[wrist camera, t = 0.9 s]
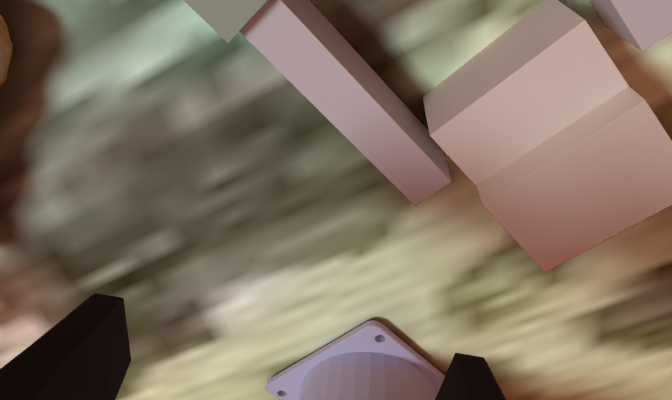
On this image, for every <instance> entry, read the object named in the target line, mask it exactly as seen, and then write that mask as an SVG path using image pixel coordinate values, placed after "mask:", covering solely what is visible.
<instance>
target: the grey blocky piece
mask: <svg viewBox="0 0 672 400" xmlns="http://www.w3.org/2000/svg"><path fill="white" fill-rule="evenodd" d="M184 1H185V2H186V3H187V4H188V5H189V6H190V7H191V8H192V9H193V10H194V11H195V12H196V13H197V14H198V15H199V16H200V17H202V18H203V19H204V20H205V21H206V22H207V23H208V24H209V25H210V26H211V27H212V28H213V29H214V30H215V31H216V32H217V33H218V34H219V35H220V36H221V37H222V38H223V39H224V40H225V41H226V42H227V43H229V41H230V40H231V39H232V38H233V37H234V36H235V35H236V34H237V33H238V32H239V31H240V32H241V33H242V34H243V35H244V36H245V37H246V38H247V39H248V40H249V41H250V42H251V43H252V44H253V45H254V46H255V47H256V48H257V49H258V50H259V51H260V52H261V53H262V54H263V55H264V56H265V57H266V58H267V59H268V60H269V61H270V62H271V63H272V64H273V65H274V66H275V67H276V68H277V69H278V70H279V71H280V72H281V73H282V74H283V75H284V76H285V77H286V78H287V79H288V80H289V81H290V82H291V83H292V84H293V85H294V86H295V87H296V88H297V89H298V90H299V91H300V92H301V93H302V94H303V95H304V96H305V97H306V98H307V99H308V100H309V101H310V102H311V103H312V104H313V105H314V106H315V107H316V108H317V109H318V110H319V111H320V112H321V113H322V114H323V115H324V116H325V117H326V118H327V119H328V120H329V121H330V122H331V123H332V124H333V125H334V126H335V127H336V128H337V129H338V130H339V131H340V132H341V133H342V134H343V135H344V136H345V137H346V138H347V139H348V140H349V141H350V142H351V143H352V144H353V145H354V146H355V147H356V148H357V149H358V150H359V151H360V152H361V153H362V154H363V155H364V156H365V157H366V158H367V159H368V160H369V161H370V162H371V163H372V164H373V165H374V166H375V167H376V168H377V169H378V170H379V171H380V172H381V173H383V174H384V175H385V176H386V177H387V178H388V179H389V180H390V181H391V182H392V183H393V184H394V185H395V186H396V187H397V188H398V189H399V190H400V191H401V192H402V193H403V194H404V195H405V196H406V197H407V198H408V199H409V200H410V201H411V202H412V203H413V204H414V205H415V206H417V205H418V204H420V203H421V202H423V201H424V200H426V199H427V198H429V197H430V196H431V195H433V194H434V193H436V192H437V191H439V190H440V189H442V188H443V187H445V186H446V185H448V184H449V183H451V178H450V174H449V169H448V165H447V161H446V156H445V152H444V151H443V149H442V148H441V147H440V146H439V145H438V144H437V143H436V142H435V141H434V140H433V138H432V137H431V136H430V134H429V131H428V130H427V129H426V127H425V126H424V125H423V124H422V123H421V122H420V121H419V120H418V119H417V118H416V116H415V115H414V114H413V113H412V112H411V111H410V110H409V109H408V108H407V107H406V105H405V104H404V103H403V102H402V101H401V100H400V99H399V98H398V97H397V96H396V95H395V93H394V92H393V91H392V90H391V89H390V88H389V87H388V86H387V85H386V84H385V82H384V81H383V80H382V79H381V78H380V77H379V76H378V75H377V74H376V73H375V71H374V70H373V69H372V68H371V67H370V66H369V65H368V64H367V63H366V62H365V60H364V59H363V58H362V57H361V56H360V55H359V54H358V53H357V52H356V51H355V50H354V48H353V47H352V46H351V45H350V44H349V43H348V42H347V41H346V40H345V39H344V37H343V36H342V35H341V34H340V33H339V32H338V31H337V30H336V29H335V28H334V26H333V25H332V24H331V23H330V22H329V21H328V20H327V19H326V18H325V17H324V16H323V14H322V13H321V12H320V11H319V10H318V9H317V8H316V7H315V6H314V5H313V3H312V2H311V1H310V0H184ZM590 1H591V3H592V4H593V6H594V8H595V9H596V11H597V12H598V14H599V15H600V17H601V18H602V20H603V21H604V23H605V25H606V26H607V28H609V29H610V30H612V31H613V32H615V33H616V34H618V35H619V36H621V37H622V38H623V39H625V40H626V41H628V42H629V43H631V44H632V45H634V46H635V47H637V48H638V49H640V50H641V51H644V50H646V49H647V48H648V47H650V46H651V45H653V44H654V43H656V42H657V41H659V40H660V39H662V38H663V37H665V36H666V35H668V34H669V33H670V32H672V0H590Z"/></svg>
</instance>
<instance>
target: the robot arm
mask: <svg viewBox="0 0 672 400" xmlns="http://www.w3.org/2000/svg"><path fill="white" fill-rule="evenodd" d="M377 335H382V336H377ZM130 361H131V356H130V348H129V340H128V332H127V324H126V316H125V308H124V300H123V298H120V297H114V296H108V295H102V294H96V293H95V294H93V295H92V296H90V297H89V298H88V299H86V300H85V301H84V302H83V303H82V304H80V305H79V306H78V307H77V308H75V309H74V310H73V311H72V312H71V313H69V314H68V315H67V316H66V317H65V318H63V319H62V320H61V321H60V322H59V323H57V324H56V325H55V326H54V327H53V328H51V329H50V330H49V331H48V332H46V333H45V334H44V335H43V336H42V337H40V338H39V339H38V340H37V341H35V342H34V343H33V344H32V345H30V346H29V347H28V348H27V349H25V350H24V351H23V352H22V353H20V354H19V355H18V356H16V357H15V358H14V359H13V360H11V361H10V362H9V363H7V364H6V365H5V366H4V367H2V368H1V369H0V400H115V398H116V396H117V394H118V391H119V389H120V387H121V384H122V382H123V379H124V377H125V374H126V371H127V369H128V366H129V364H130ZM266 389H267V390H268V391H269V392H270V393H271V394H273V395H274V396H276V397H277V398H279V399H280V400H506V399H505V397H504V395H503V393H502V391H501V389H500V387H499V385H498V384H497V382H496V380H495V378H494V376H493V374H492V372H491V370H490V368H489V366H488V364H487V362H486V361H485V359H484V358H483V357H477V356H471V355H465V354H459V353H455V355H454V357H453V360H452V362H451V364H450V366H449V369H448V371H447V373H446V375H443V374H442V373H441V372H440V371H439V370H437V369H436V368H435V367H434V366H432V365H431V364H430V363H429V362H428V361H426V360H425V359H424V358H423V357H422V356H420V355H419V354H418V353H417V352H416V351H414V350H413V349H412V348H411V347H409V346H408V345H407V344H406V343H405V342H403V341H402V340H401V339H400V338H399V337H397V336H396V335H395V334H394V333H393V332H391V331H390V330H389V329H388V328H386V327H385V326H384V325H383V324H382V323H380V322H378V321H375V320H372V321H368V322H365V323H364V324H362V325H360V326H359V327H357V328H355V329H354V330H352V331H350V332H348V333H347V334H345V335H343V336H342V337H340V338H338V339H336V340H335V341H333V342H331V343H330V344H328V345H326V346H325V347H323V348H321V349H319V350H318V351H316V352H314V353H313V354H311V355H309V356H307V357H306V358H304V359H302V360H301V361H299V362H297V363H295V364H294V365H292V366H290V367H289V368H287V369H285V370H284V371H282V372H280V373H278V374H277V375H275V376H273V377H272V378H270V379H269V380H268V381H267V385H266Z"/></svg>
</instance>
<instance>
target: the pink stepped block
mask: <svg viewBox="0 0 672 400" xmlns="http://www.w3.org/2000/svg"><path fill="white" fill-rule="evenodd" d="M423 103H424V108H425V113H426V118H427V124H428V129H429V134H430V136H431V137H432V138H433V140H434V141H435V142H436V143H437V144H438V145H439V146H440V147H441V148H442V149H443V151H444V152H445V153H446V154H447V155H448V156H449V157H450V158H451V159H452V160H453V162H454V163H455V164H456V165H457V166H458V167H459V168H460V169H461V170H462V171H463V172H464V174H465V175H466V176H467V177H468V178H469V179H470V180H471V181H472V182H473V183H474V185H475V186H476V188H477V191H478V194H479V197H480V201H481V204H482V205H483V206H484V207H485V208H486V209H487V210H488V211H489V212H490V214H491V215H492V216H493V217H494V218H495V219H496V220H497V221H498V222H499V223H500V224H501V225H502V227H503V228H504V229H505V230H506V231H507V232H508V233H509V234H510V235H511V236H512V237H513V238H514V240H515V241H516V242H517V243H518V244H519V245H520V246H521V247H522V248H523V249H524V250H525V251H526V253H527V254H528V255H529V256H530V257H531V258H532V259H533V260H534V261H535V262H536V263H537V264H538V266H539V267H540V268H541V269H542V270H543V271H544V272H546V271H548V270H550V269H552V268H554V267H556V266H557V265H559V264H561V263H563V262H565V261H567V260H569V259H571V258H573V257H574V256H576V255H578V254H580V253H582V252H584V251H586V250H588V249H590V248H591V247H593V246H595V245H597V244H599V243H601V242H603V241H605V240H607V239H608V238H610V237H612V236H614V235H616V234H618V233H620V232H622V231H624V230H625V229H627V228H629V227H631V226H633V225H635V224H637V223H639V222H641V221H642V220H644V219H646V218H648V217H650V216H652V215H654V214H656V213H658V212H659V211H661V210H663V209H665V208H667V207H669V206H671V205H672V140H671V139H670V137H669V136H668V134H667V133H666V131H665V130H664V128H663V127H662V125H661V124H660V122H659V120H658V119H657V117H656V116H655V114H654V113H653V111H652V110H651V108H650V107H649V105H648V104H647V102H646V101H645V99H643V98H642V97H641V96H640V95H639V94H638V93H636V92H635V91H634V90H633V89H632V88H631V87H629V85H628V84H627V82H626V81H625V79H624V78H623V76H622V75H621V73H620V72H619V70H618V69H617V67H616V66H615V64H614V63H613V61H612V60H611V58H610V57H609V55H608V54H607V52H606V51H605V49H604V48H603V46H602V45H601V43H600V42H599V40H598V38H597V37H596V35H595V34H594V32H593V31H592V29H591V28H590V26H589V25H588V23H587V22H586V20H585V19H583V18H582V17H581V16H579V15H578V14H576V13H575V12H574V11H572V10H571V9H569V8H568V7H567V6H565V5H564V4H562V3H561V2H560V1H558V0H545V1H543V2H542V3H541V4H540V5H538V6H537V7H536V8H535V9H533V10H532V11H531V12H530V13H528V14H527V15H526V16H525V17H523V18H522V19H521V20H519V21H518V22H517V23H516V24H514V25H513V26H512V27H511V28H509V29H508V30H507V31H506V32H504V33H503V34H502V35H501V36H499V37H498V38H497V39H495V40H494V41H493V42H492V43H490V44H489V45H488V46H487V47H485V48H484V49H483V50H482V51H480V52H479V53H478V54H477V55H475V56H474V57H473V58H472V59H470V60H469V61H468V62H466V63H465V64H464V65H463V66H461V67H460V68H459V69H458V70H456V71H455V72H454V73H453V74H451V75H450V76H449V77H448V78H446V79H445V80H444V81H443V82H441V83H440V84H439V85H437V86H436V87H435V88H434V89H432V90H431V91H430V92H429V93H427V94H426V95H425V96H424V97H423Z"/></svg>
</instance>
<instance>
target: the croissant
mask: <svg viewBox="0 0 672 400" xmlns="http://www.w3.org/2000/svg"><path fill="white" fill-rule="evenodd" d="M12 48H13V45H12V42H11V40H10V35H9V32H8V28H7V24H6V23H5V21H4V19H3V18H2V16H1V15H0V86H1V85H2V84H3V83H4V82H5V81H6V80H7V73H8V67H9V64H10V60H11V56H12Z"/></svg>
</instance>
